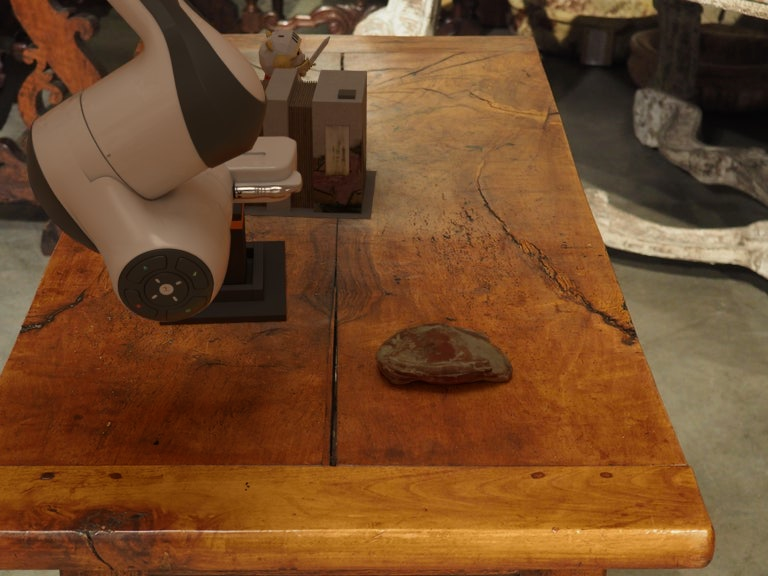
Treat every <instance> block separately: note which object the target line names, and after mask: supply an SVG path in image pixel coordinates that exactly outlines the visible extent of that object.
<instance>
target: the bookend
mask: <svg viewBox="0 0 768 576" xmlns="http://www.w3.org/2000/svg"><path fill="white" fill-rule="evenodd" d="M260 81H261V84H262V86H263V89H264V91H265V93H266V96H267V100H268V102H267V109H266V114H265V118H264V122H263V125H262V128H261V131H260V134H259V136H258V137H278V136H284V137H289V138H291V139H293V140H295V141H296V143H297V172H299V173H300V174H301V177H302V188H301V190H300V191H299V192H293V193H291V195H290V196H289V197H288V198H286V199H284V200H282V201H277V202H263V203H244V216H263V217H265V216H266V217H267V216H268V217H295V218H296V217H297V218H298V217H299V218H300V217H301V218H324V219H325V218H326V219H330V218H331V219H356V220H357V219H360V220H372V215H373V214H372V213H373V206H374V195H375V189H376V179H377V170H367V147H368V146H367V142H368V141H367V140H368V139H367V136H368V132H367V131H368V128H367V127H368V71H367V70H352V69H351V70H348V69H320V70H319V74H318V78H317V80H303V81H302V83H301V81H300V82H299V80H298V69H282V68H275V69H274V71H273V74H272V76H271V79H270V80H269V82H268V80H267V81H266V80H265V81H264V79H261V78H260Z"/></svg>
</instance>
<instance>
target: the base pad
mask: <svg viewBox="0 0 768 576" xmlns="http://www.w3.org/2000/svg"><path fill="white" fill-rule="evenodd" d="M246 252H247V274H246V284H245V285H222V286H221V288H220V290H219V292H218V293H217V295H216V296H215V298H214V299H213V300H212V302H211V303H210V304H209V305H208V306H207V307H206V308H204V309H203V310H202V311H200V312H199V313H197V314H195V315H193V316H190V317H188V318H185V319H183V320H179V321H172V322H159V324H158V325H161V326H162V325H163V326H164V325H165V326H166V325H192V324H193V325H194V324H222V323H224V324H225V323H251V322H253V323H254V322H281V321H283V322H284V321H287V281H286V279H287V278H286V277H287V275H286V241H285V240H257V241H255V240H254V241H253V240H252V241H246Z"/></svg>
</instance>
